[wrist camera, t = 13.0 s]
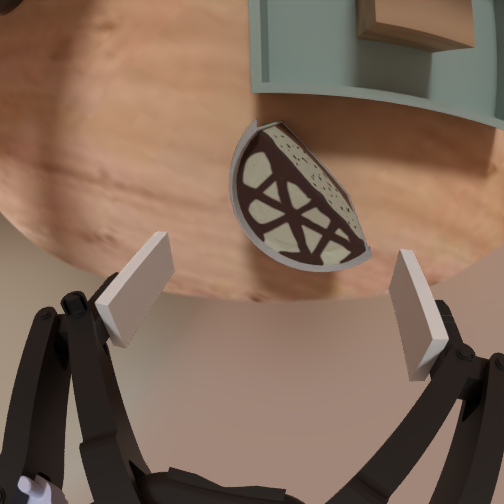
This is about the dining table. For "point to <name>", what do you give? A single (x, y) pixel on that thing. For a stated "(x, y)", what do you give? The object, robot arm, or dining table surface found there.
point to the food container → (293, 202)
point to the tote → (375, 60)
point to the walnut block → (417, 23)
